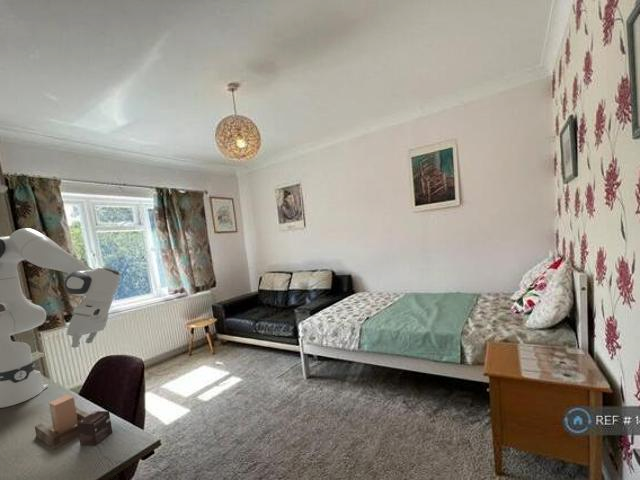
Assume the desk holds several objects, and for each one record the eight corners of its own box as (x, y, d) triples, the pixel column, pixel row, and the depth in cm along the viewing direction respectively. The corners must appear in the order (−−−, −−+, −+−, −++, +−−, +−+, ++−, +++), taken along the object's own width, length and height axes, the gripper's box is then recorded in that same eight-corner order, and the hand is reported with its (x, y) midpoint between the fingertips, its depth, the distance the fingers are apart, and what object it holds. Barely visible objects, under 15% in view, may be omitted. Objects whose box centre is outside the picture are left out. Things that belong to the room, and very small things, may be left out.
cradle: (36, 436, 98) (34, 426, 98) (76, 416, 108) (74, 406, 107) (54, 449, 90) (53, 438, 90) (96, 426, 99) (94, 416, 99)
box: (95, 446, 89) (91, 423, 89) (79, 445, 90) (76, 423, 90) (113, 432, 95) (109, 410, 95) (98, 431, 96) (95, 410, 96)
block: (53, 431, 98) (49, 402, 98) (72, 422, 102) (67, 394, 102) (59, 435, 95) (54, 405, 95) (78, 425, 100) (73, 397, 99)
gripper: (100, 305, 123) (87, 339, 120) (71, 308, 104) (55, 348, 101) (116, 308, 125) (104, 342, 121) (90, 311, 105) (75, 351, 102)
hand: (81, 344), depth 111 cm, fingers open, 8 cm apart
